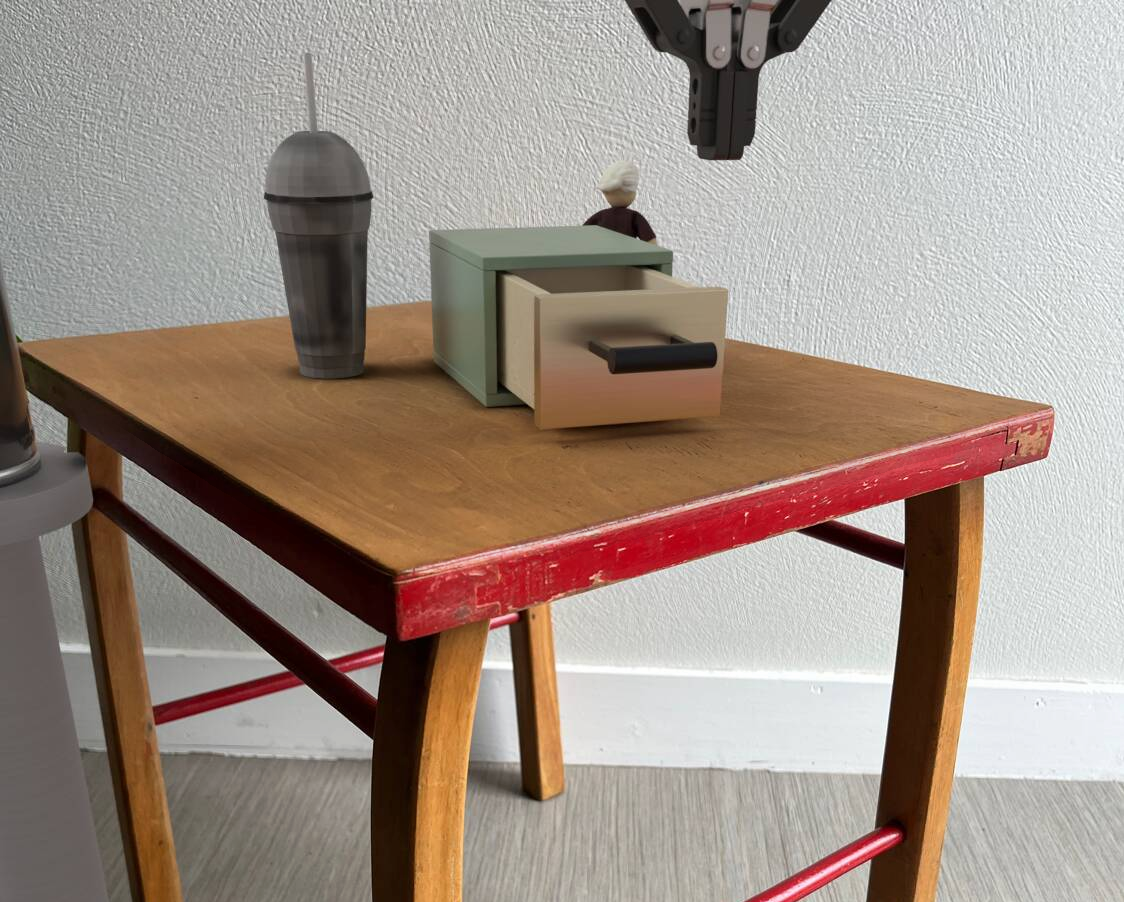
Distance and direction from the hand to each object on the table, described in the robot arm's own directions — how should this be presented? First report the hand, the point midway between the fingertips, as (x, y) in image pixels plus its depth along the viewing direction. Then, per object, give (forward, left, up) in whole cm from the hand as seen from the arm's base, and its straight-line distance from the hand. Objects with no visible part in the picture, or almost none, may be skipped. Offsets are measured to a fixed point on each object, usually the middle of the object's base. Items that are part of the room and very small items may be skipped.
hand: (718, 158), depth 61 cm
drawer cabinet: (0, +27, -16) cm, 31 cm away
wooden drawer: (0, +14, -15) cm, 21 cm away
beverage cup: (-14, +33, -16) cm, 39 cm away
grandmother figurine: (+12, +45, -16) cm, 49 cm away
